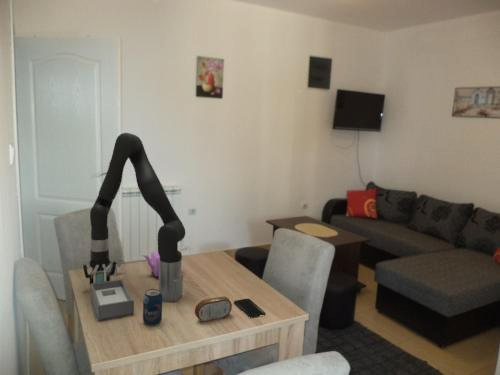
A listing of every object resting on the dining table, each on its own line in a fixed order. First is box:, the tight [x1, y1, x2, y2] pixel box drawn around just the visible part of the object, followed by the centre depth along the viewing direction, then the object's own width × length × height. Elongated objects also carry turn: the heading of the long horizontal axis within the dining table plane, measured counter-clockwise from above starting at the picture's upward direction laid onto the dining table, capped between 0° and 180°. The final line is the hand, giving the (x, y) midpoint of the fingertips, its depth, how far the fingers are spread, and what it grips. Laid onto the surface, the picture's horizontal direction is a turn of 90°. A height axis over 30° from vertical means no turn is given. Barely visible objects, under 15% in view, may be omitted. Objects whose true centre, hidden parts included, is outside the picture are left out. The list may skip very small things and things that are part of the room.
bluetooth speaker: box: [194, 296, 233, 322], centre depth 148 cm, size 15×3×8 cm, turn 119°
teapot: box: [142, 250, 160, 279], centre depth 187 cm, size 20×10×12 cm, turn 118°
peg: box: [94, 271, 105, 283], centre depth 167 cm, size 4×4×8 cm
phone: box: [233, 298, 266, 319], centre depth 158 cm, size 8×1×15 cm
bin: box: [90, 279, 135, 322], centre depth 153 cm, size 13×22×6 cm, turn 29°
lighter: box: [107, 257, 124, 277], centre depth 184 cm, size 7×2×8 cm, turn 120°
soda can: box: [142, 288, 163, 327], centre depth 142 cm, size 7×7×12 cm
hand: (99, 284), depth 167 cm, fingers open, 5 cm apart
